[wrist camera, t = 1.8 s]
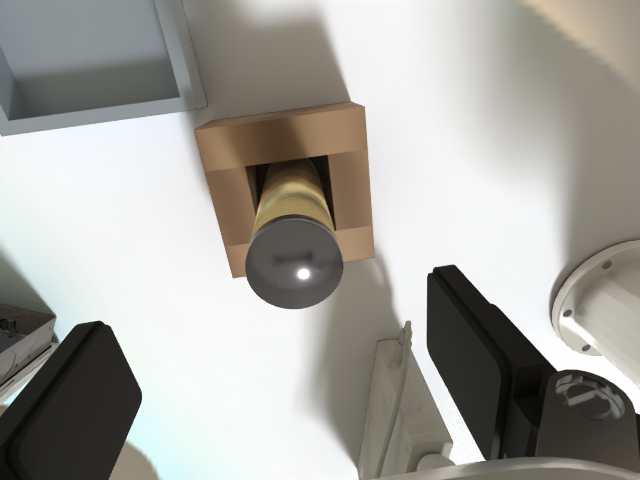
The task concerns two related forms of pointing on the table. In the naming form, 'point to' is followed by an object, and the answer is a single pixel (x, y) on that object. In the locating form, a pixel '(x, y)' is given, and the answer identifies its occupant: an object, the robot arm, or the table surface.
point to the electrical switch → (23, 347)
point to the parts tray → (94, 62)
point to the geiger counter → (401, 416)
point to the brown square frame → (280, 145)
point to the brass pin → (293, 239)
